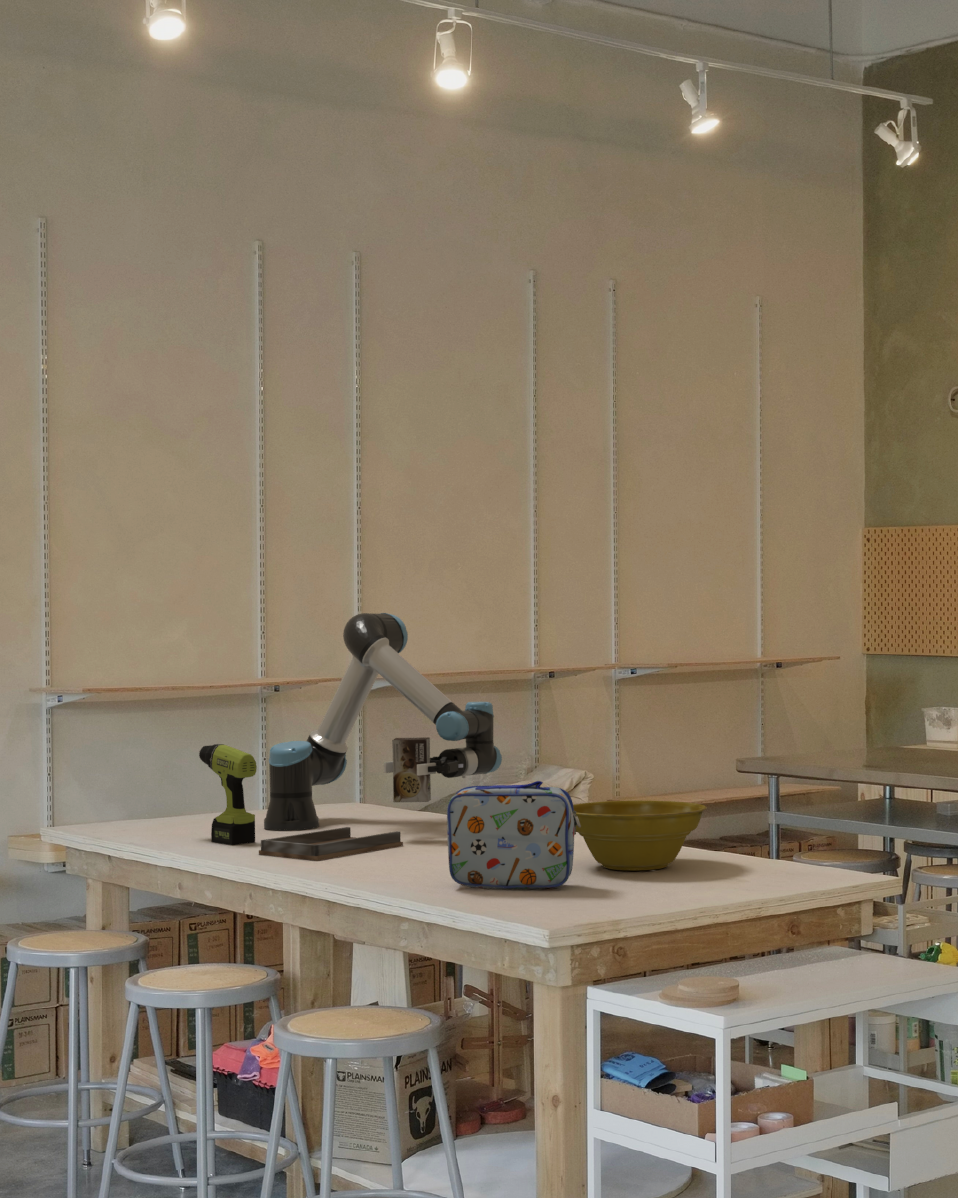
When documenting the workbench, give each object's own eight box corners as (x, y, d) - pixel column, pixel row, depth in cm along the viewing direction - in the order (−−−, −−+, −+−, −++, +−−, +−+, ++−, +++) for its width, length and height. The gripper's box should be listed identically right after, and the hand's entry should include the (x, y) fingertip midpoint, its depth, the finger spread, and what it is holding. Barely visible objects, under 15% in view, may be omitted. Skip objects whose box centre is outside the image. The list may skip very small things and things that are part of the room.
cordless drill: (188, 838, 403) (187, 743, 403) (211, 835, 407) (210, 742, 408) (237, 846, 386) (236, 747, 386) (260, 843, 390) (259, 745, 391)
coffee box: (431, 800, 392) (430, 737, 392) (428, 802, 386) (427, 738, 386) (396, 799, 393) (395, 737, 393) (392, 802, 386) (391, 738, 387)
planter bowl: (570, 856, 357) (569, 798, 357) (709, 857, 352) (708, 798, 352) (553, 878, 325) (552, 814, 326) (706, 879, 320) (705, 815, 320)
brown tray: (258, 854, 369) (258, 840, 370) (344, 840, 393) (344, 826, 393) (317, 860, 357) (317, 845, 357) (403, 845, 380) (402, 831, 380)
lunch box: (583, 883, 317) (581, 777, 318) (578, 892, 307) (576, 782, 307) (453, 882, 321) (451, 778, 322) (444, 891, 311) (442, 782, 312)
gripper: (491, 779, 396) (435, 786, 379) (423, 774, 411) (367, 781, 393) (490, 750, 396) (435, 756, 379) (423, 746, 411) (367, 752, 394)
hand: (401, 769), depth 386 cm, fingers closed on coffee box, 11 cm apart
